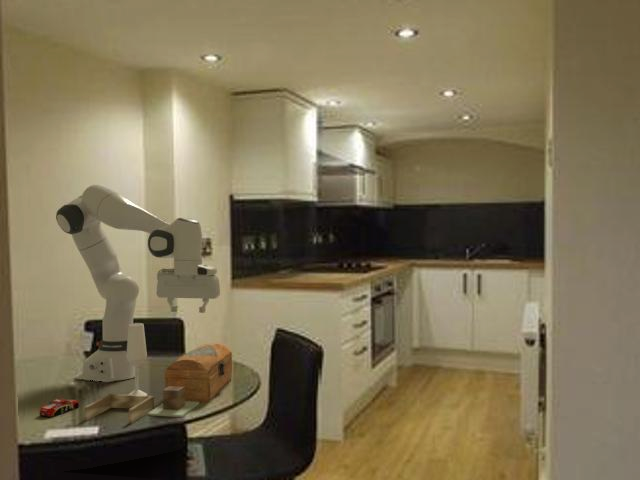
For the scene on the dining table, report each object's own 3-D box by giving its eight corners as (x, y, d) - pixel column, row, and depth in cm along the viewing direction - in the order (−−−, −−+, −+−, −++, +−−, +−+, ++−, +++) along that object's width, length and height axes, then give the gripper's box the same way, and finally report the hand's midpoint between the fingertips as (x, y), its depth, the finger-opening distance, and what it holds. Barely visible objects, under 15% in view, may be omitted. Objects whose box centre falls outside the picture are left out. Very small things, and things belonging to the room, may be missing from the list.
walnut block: (163, 409, 192) (163, 390, 192) (169, 404, 197) (169, 385, 197) (178, 410, 191) (178, 390, 191) (184, 405, 196) (184, 386, 196)
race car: (69, 405, 199) (69, 393, 199) (82, 407, 197) (82, 395, 197) (36, 417, 187) (36, 404, 187) (49, 419, 185) (49, 406, 185)
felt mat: (147, 415, 188) (147, 413, 188) (167, 402, 202) (167, 400, 202) (182, 417, 186) (182, 415, 186) (199, 403, 200) (199, 401, 200)
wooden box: (212, 402, 202) (212, 360, 201) (163, 401, 204) (163, 359, 203) (236, 379, 231) (236, 342, 231) (193, 378, 233) (193, 341, 233)
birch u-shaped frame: (84, 420, 183) (84, 407, 183) (109, 406, 197) (109, 393, 197) (132, 423, 180) (132, 409, 180) (154, 408, 194) (154, 396, 194)
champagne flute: (123, 394, 211) (122, 324, 210) (142, 391, 215) (142, 322, 214) (130, 399, 205) (130, 326, 205) (150, 395, 209) (149, 324, 209)
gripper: (153, 269, 197) (153, 312, 197) (215, 270, 194) (215, 314, 194) (161, 267, 203) (161, 310, 203) (221, 268, 200) (221, 311, 200)
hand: (188, 312), depth 199 cm, fingers open, 8 cm apart
